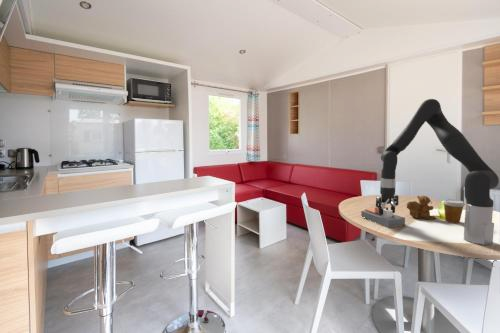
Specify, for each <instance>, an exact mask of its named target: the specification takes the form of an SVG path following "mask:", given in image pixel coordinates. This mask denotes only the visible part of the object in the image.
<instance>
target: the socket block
mask: <svg viewBox="0 0 500 333" xmlns="http://www.w3.org/2000/svg"><path fill="white" fill-rule="evenodd" d="M360 216H362V217H365V218H367V219H369V220H368V221H370V220H371V221H370V222H372V221H374V222H373V223H375V222H376V224H377V223H378V225H380V224H381V225H380V226H383V227H385V228H388V229H389V228H395V227H400V226H405V225H406V217H403V216H400V215H398V214H395V213H392V217H390V218H386V217H383V216H381V215H380V214H379V213H376V214H375V213H372V212H369V211H366V210H365V209H364V210H361V214H360ZM362 217H361V218H362ZM365 218H364V219H365ZM367 219H366V220H367Z"/></svg>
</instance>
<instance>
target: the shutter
mask: <svg viewBox="0 0 500 333" xmlns="http://www.w3.org/2000/svg"><path fill="white" fill-rule="evenodd" d="M383 209H386V205H385V206H384V208H383ZM364 210H366V211H369V212H372V213H375V214H376V213H379V208H378V207H376V206H375V207H372V208H370V207H369V208H365V209H364Z"/></svg>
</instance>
